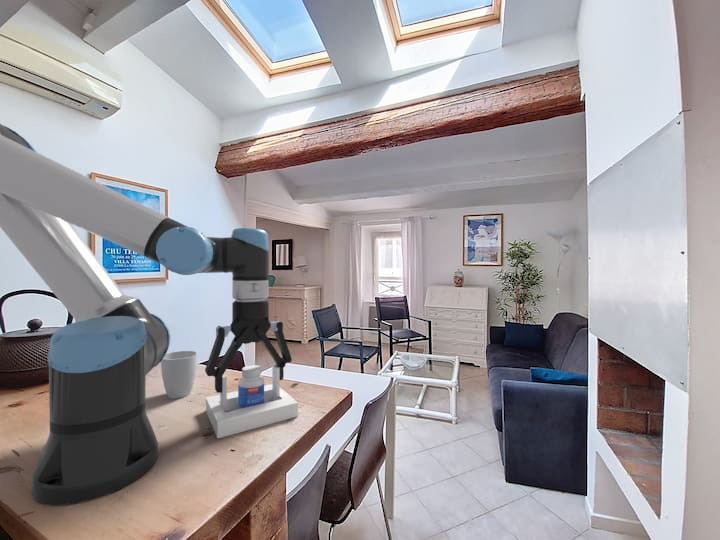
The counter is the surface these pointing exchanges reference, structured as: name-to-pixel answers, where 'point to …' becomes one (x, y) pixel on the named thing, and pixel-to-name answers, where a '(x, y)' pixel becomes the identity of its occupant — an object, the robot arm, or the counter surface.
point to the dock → (249, 412)
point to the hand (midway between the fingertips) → (250, 400)
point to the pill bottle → (250, 387)
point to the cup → (179, 373)
